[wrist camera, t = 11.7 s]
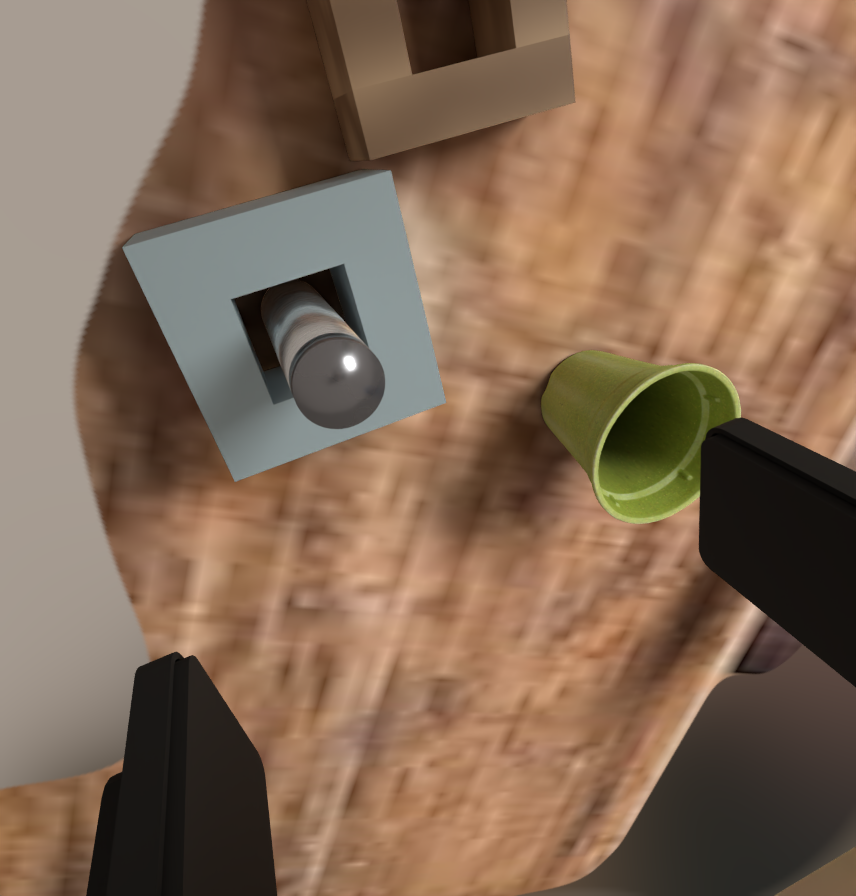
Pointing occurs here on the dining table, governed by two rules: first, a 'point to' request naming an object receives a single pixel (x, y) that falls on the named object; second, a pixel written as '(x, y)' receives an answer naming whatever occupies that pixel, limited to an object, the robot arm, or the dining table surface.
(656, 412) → the plant pot
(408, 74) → the mount block
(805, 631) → the robot arm
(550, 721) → the dining table surface
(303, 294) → the pin
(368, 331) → the dock block
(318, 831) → the dining table surface
